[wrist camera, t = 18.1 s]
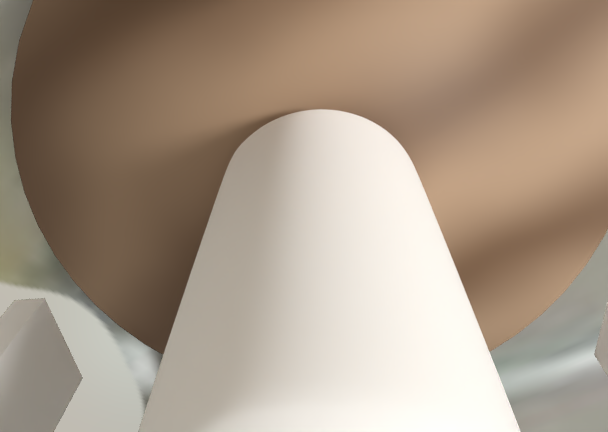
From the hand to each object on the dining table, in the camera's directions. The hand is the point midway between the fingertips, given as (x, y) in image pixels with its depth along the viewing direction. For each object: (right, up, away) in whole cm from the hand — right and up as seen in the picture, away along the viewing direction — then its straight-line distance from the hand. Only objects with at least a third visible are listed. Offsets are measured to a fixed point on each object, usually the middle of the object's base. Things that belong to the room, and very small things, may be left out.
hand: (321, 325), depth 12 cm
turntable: (0, +4, +6) cm, 7 cm away
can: (0, +3, +5) cm, 6 cm away
